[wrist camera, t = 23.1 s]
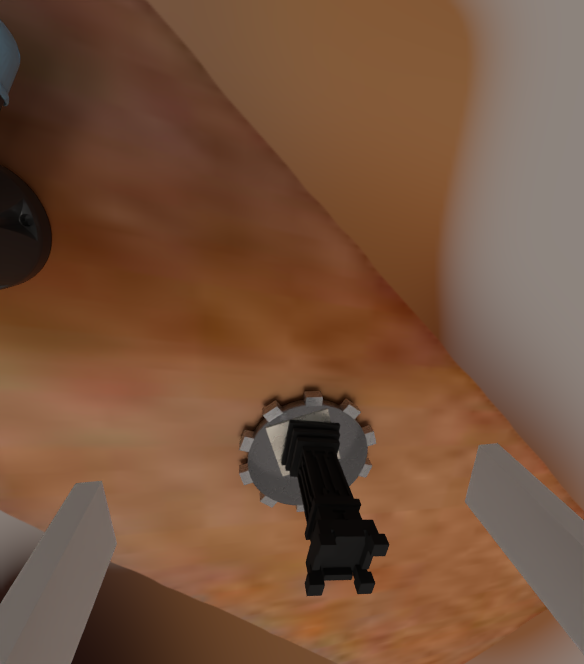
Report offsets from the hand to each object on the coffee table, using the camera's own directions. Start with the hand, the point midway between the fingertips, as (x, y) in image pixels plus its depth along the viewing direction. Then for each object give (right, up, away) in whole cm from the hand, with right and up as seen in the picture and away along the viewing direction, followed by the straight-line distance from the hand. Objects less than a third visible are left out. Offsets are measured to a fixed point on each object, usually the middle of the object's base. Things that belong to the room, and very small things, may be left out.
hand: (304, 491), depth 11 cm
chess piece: (+2, -12, +40) cm, 42 cm away
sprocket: (+2, -15, +44) cm, 46 cm away
